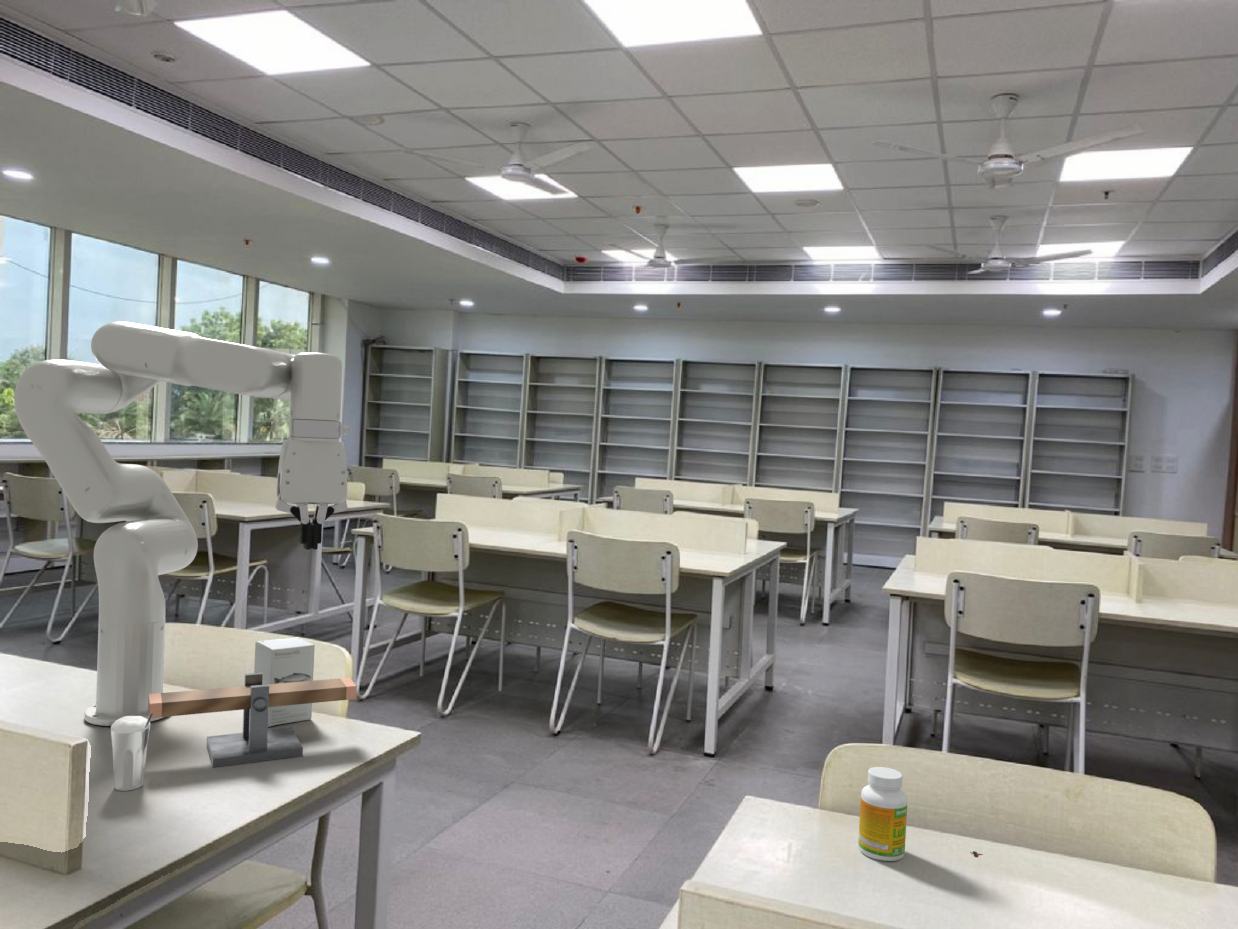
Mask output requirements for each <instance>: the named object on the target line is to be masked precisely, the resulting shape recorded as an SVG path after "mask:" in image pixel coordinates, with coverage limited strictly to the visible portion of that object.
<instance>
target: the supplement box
mask: <svg viewBox="0 0 1238 929" xmlns="http://www.w3.org/2000/svg"><path fill="white" fill-rule="evenodd" d="M298 638H300V637H299V636H296V637H286V638H277V639H276V638H275V639H267V640H258V641H255V643H254V644H255V645H254V667H253V670H254V671H253V673H261V672H262V674H263V678H262V685H266V684H279V683H291V682H303V681H314V667H315V665H314V664H315V647H316V646H315V644H314V643H312V642H309V641H307V640H305V639H304V638H301V639H298ZM312 714H313V703H308V704H297V705H286V706H276V707H269V709H268V728H270V727H275V726H278V725H283V724H289V723H295V722H301V721H310V720H312Z"/></svg>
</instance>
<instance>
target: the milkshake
mask: <svg viewBox="0 0 1238 929" xmlns="http://www.w3.org/2000/svg"><path fill="white" fill-rule="evenodd" d="M152 714H153V713H151V714H150V716H149V718H148V719H146V718H144V717H142V716H125V717H122V718H120V719H118V720H116V721H115V722H114V723H113V724H112V726H110V736H111V737H110V738H111V746H112V766H113V768H112V769H113V770H112V771H113V785H114V786H113V787H114V789H115V790H116V791H120V792H128V791H134V790H137V789H139V788H141V787H142V786H143V785H144V780H145V770H146V761H147V752H148V742H149V735H150V730H151V722H149V721H150V719H151V717H152Z"/></svg>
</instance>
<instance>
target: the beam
mask: <svg viewBox="0 0 1238 929" xmlns="http://www.w3.org/2000/svg"><path fill="white" fill-rule="evenodd" d="M266 685H267V684H266ZM268 685H269V707H276V706H286V705H297V704H308V703H312V704H317V703H326V702H337V701H338V702H339V701H350V700H351V701H352V700H357V688H358V687H357V685H356V683H355V682H354V681H353V680H352V679H351V678H350V677H340V678H328V679H317V680H313V681H303V682H291V683H279V684H268ZM252 686H255V685H252ZM250 689H251V686H244V685H243V686H242V685H241V686H232V687H219V688H218V687H217V688H209V689H207V688H206V689H196V690H195V689H194V690H185V691H184V690H183V691H182V690H181V691H171V692H163V693H154V694H149V702H148V711H149V716H150V714H151V713H153V714H152V717H151V718H160V717H164V718H168V717H176V716H179V717H180V716H188V715H200V714H201V715H202V714H210V713H218V712H219V713H220V712H222V713H223V712H231V711H241V710H242V711H243V710H244V709H250Z"/></svg>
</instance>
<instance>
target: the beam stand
mask: <svg viewBox="0 0 1238 929" xmlns="http://www.w3.org/2000/svg"><path fill="white" fill-rule="evenodd" d="M262 678H263V674H262V672H261V673H254V672H253V673H252V672H251V673H244V683H243V684H244V685H243V686H251V689H250V709H244V710H242V711H243V712H242V715H243V716H242V732H238V733H236V732H235V733H228V734H220V735H219V734H218V735H212V736H211V735H210V736H207V737H206V748H207V751H208V754H209V759H210V761H211V766H212V768H219V767H226V766H227V767H228V766H235V765H244V764H251V763H260V762H267V761H274V760H281V759H291V758H298V757H303V755H304V747H303V745H302V744H301V742H300V740H299V738H298V736H297V735H296V733H295V731H294V729H293V727H283V728H274V729H273V728H272V729H269V727H268V709H269V685H268V684H267V685H262ZM252 685H255V686H252Z"/></svg>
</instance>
